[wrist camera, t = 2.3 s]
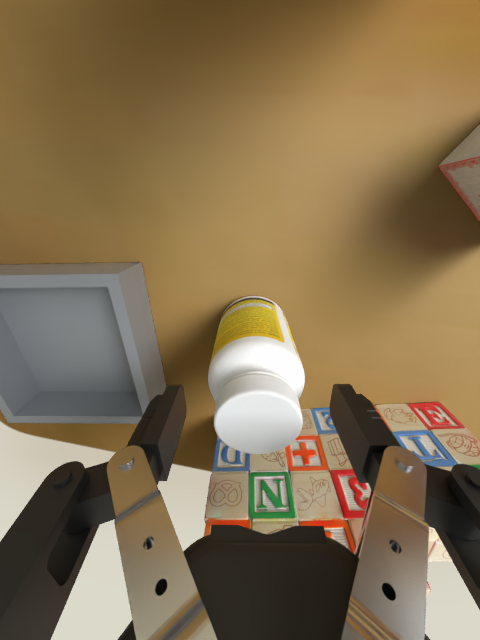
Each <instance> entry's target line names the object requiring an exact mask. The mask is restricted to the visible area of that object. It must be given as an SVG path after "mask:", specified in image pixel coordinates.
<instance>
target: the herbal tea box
mask: <svg viewBox="0 0 480 640" xmlns="http://www.w3.org/2000/svg"><path fill="white" fill-rule="evenodd" d="M438 167H439V168H440V170H441V171H442V172H443V174H444V175H445V176H446V178H447V179H448V180H449V182H450V183H451V184H452V186H453V187H454V188H455V190H456V191H457V192H458V194H459V195H460V196H461V198H462V199H463V200H464V202H465V203H466V204H467V206H468V207H469V208H470V210H471V211H472V212H473V214H474V215H475V216H476V218H477V219H478V220H479V222H480V124H479V125H478V126H477V127H476V128H475V129H474V130H473V131H472V132H471V133H470V134H469V135H468V136H467V137H466V138H465V139H464V140H463V141H462V142H461V143H460V144H459V145H458V146H457V147H456V148H455V149H454V150H453V151H452V152H451V153H450V154H449V155H448V156H447V157H446V158H445V159H444V160H443V161H442V162H441V163H440V164H439V165H438Z"/></svg>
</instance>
